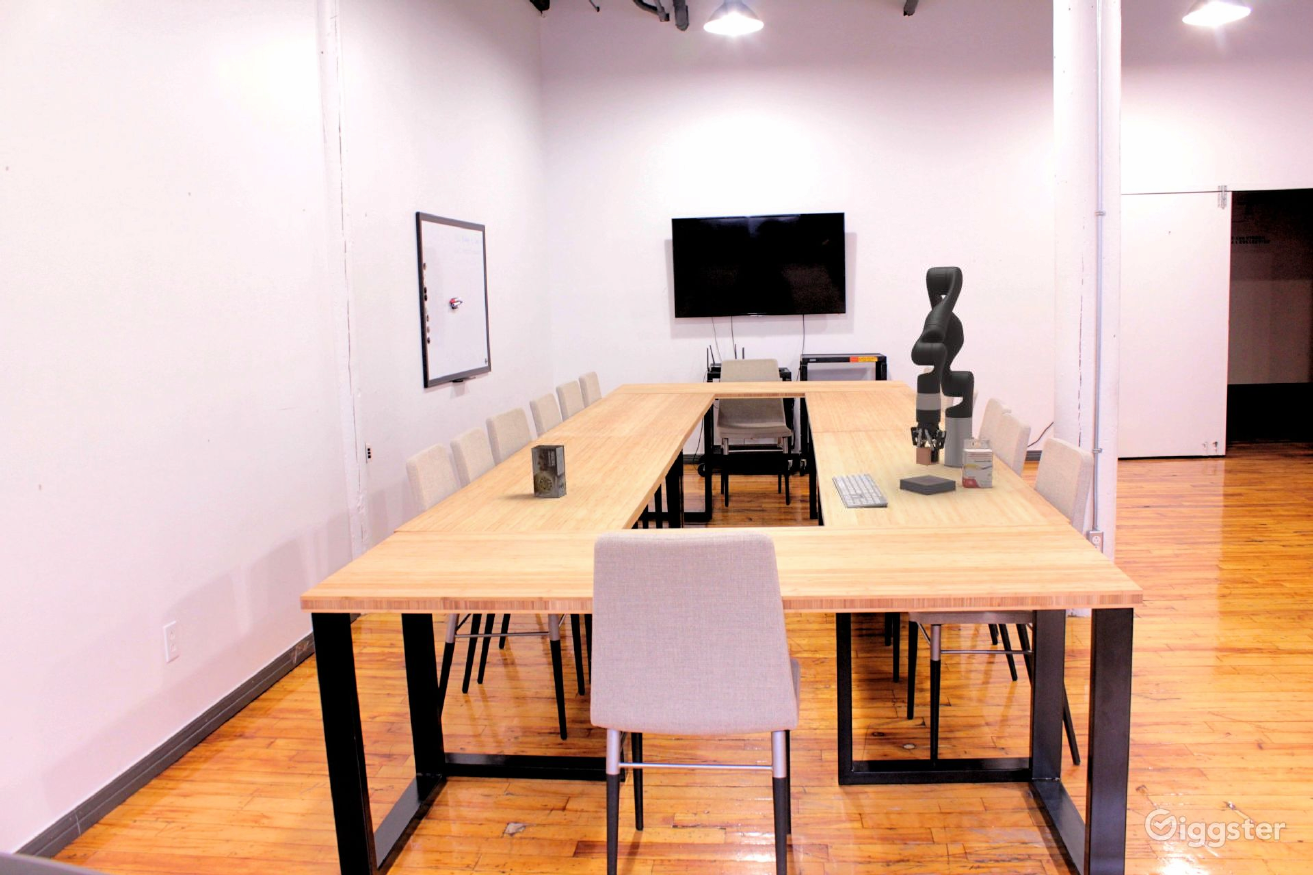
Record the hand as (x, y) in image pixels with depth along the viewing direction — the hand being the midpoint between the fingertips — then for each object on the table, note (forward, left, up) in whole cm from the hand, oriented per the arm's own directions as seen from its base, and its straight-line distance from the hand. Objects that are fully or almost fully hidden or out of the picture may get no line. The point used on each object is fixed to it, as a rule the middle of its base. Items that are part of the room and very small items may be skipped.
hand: (927, 460), depth 317 cm
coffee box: (+102, -63, -9) cm, 120 cm away
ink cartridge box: (-16, +5, -9) cm, 19 cm away
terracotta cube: (0, 0, -1) cm, 1 cm away
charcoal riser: (0, 0, -9) cm, 9 cm away
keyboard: (+20, -10, -10) cm, 24 cm away
